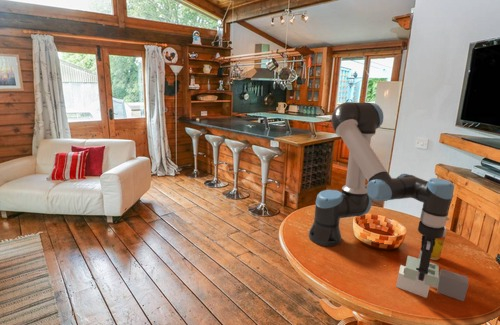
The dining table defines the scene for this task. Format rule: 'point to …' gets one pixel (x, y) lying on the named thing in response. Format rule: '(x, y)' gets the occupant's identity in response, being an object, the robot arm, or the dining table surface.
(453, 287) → the block
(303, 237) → the dining table surface
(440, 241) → the yellow labelled bottle
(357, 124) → the robot arm
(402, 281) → the white open box
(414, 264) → the grey block
